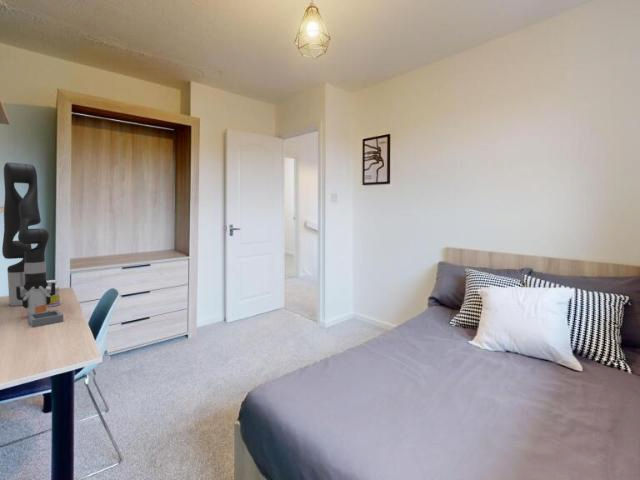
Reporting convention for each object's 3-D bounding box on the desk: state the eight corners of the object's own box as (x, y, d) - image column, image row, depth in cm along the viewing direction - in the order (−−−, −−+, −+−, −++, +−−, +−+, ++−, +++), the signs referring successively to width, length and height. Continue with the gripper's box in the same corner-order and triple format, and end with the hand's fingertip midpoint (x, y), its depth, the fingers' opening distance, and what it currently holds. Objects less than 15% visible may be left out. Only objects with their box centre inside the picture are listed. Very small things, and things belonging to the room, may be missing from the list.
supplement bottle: (43, 304, 167) (42, 280, 166) (59, 302, 172) (58, 279, 171) (43, 307, 162) (42, 282, 161) (60, 305, 167) (59, 281, 166)
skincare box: (34, 315, 148) (32, 290, 146) (26, 314, 148) (25, 289, 147) (47, 311, 153) (46, 287, 152) (40, 310, 154) (39, 286, 153)
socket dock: (28, 321, 142) (27, 314, 142) (57, 316, 150) (57, 309, 150) (32, 327, 136) (32, 320, 136) (63, 321, 144) (63, 314, 143)
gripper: (53, 268, 157) (54, 301, 158) (13, 272, 146) (14, 307, 148) (56, 270, 152) (58, 304, 154) (15, 274, 141) (17, 311, 143)
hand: (36, 306), depth 151 cm, fingers closed on skincare box, 7 cm apart
